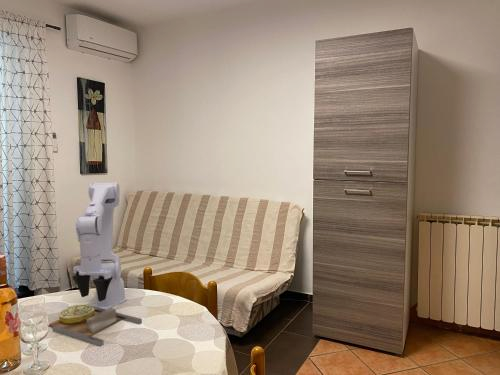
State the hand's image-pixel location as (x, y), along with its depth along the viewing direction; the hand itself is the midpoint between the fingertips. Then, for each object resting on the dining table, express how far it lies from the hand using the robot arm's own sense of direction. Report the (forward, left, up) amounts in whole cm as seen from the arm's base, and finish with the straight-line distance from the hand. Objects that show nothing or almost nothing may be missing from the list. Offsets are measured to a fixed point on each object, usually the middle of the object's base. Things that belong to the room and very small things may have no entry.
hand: (93, 298), depth 114 cm
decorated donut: (-1, -10, -10) cm, 14 cm away
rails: (0, +1, -9) cm, 9 cm away
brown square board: (0, -5, -9) cm, 10 cm away
